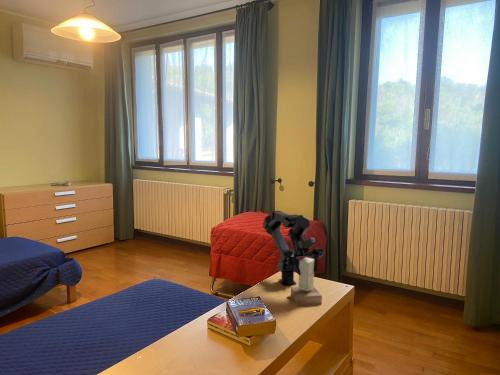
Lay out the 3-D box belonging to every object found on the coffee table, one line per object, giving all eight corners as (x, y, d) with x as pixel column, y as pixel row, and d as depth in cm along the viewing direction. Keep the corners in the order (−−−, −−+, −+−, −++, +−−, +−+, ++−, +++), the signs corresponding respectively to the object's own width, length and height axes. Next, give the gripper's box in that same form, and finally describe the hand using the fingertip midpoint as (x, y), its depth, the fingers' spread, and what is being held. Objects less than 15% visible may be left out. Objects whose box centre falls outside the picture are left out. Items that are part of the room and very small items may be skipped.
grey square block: (290, 296, 163) (290, 287, 163) (312, 294, 165) (313, 285, 165) (298, 306, 153) (298, 297, 153) (321, 304, 155) (321, 295, 155)
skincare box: (307, 291, 155) (309, 263, 153) (297, 289, 157) (298, 261, 155) (313, 286, 160) (315, 258, 158) (304, 283, 162) (305, 256, 161)
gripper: (283, 232, 156) (293, 267, 147) (323, 229, 162) (335, 263, 153) (275, 245, 164) (284, 279, 156) (314, 241, 170) (325, 274, 162)
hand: (307, 273), depth 156 cm, fingers closed on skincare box, 7 cm apart
